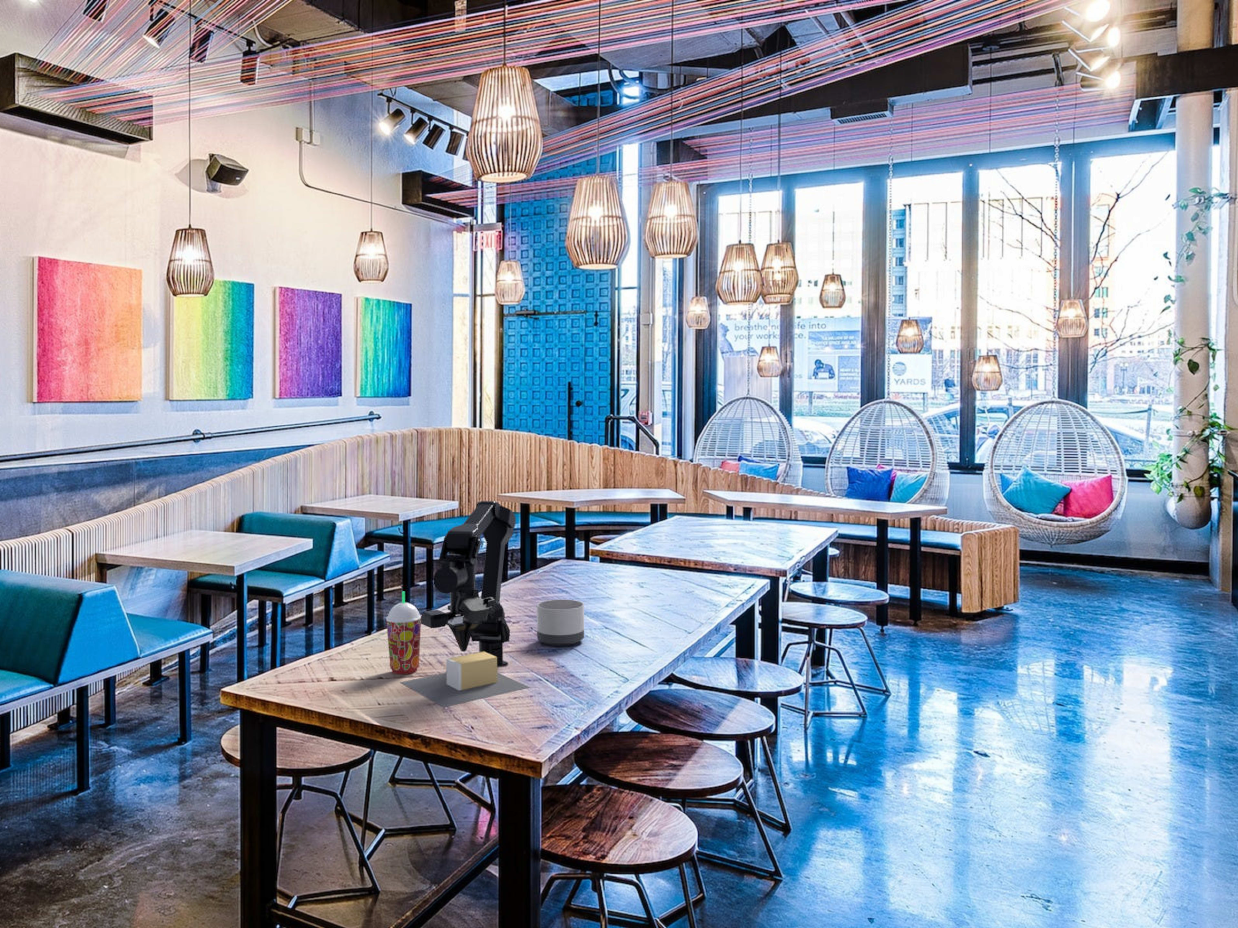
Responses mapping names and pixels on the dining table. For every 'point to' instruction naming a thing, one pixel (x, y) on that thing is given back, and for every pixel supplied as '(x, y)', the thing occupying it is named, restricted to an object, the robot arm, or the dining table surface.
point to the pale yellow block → (471, 670)
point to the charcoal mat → (448, 695)
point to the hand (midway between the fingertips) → (463, 650)
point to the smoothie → (404, 637)
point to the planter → (560, 622)
